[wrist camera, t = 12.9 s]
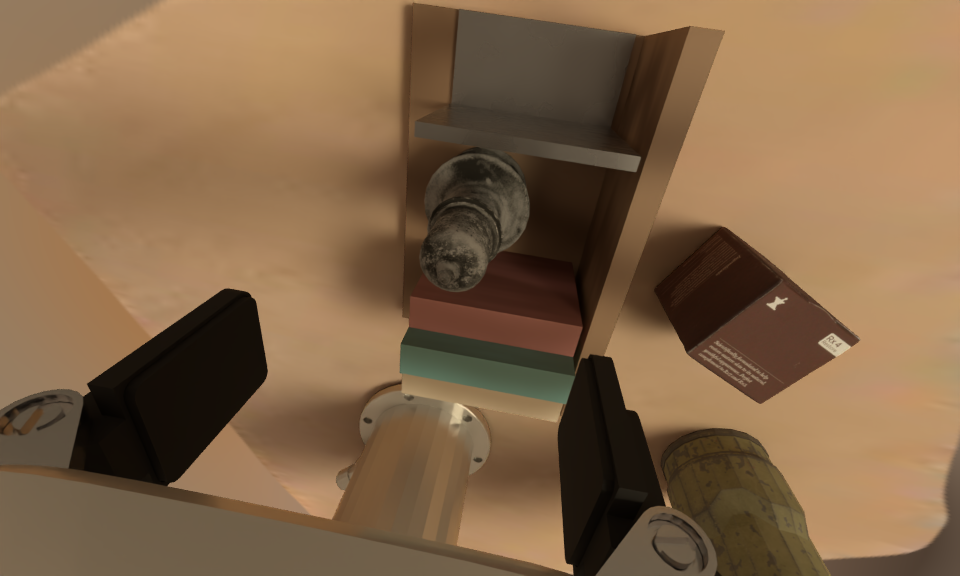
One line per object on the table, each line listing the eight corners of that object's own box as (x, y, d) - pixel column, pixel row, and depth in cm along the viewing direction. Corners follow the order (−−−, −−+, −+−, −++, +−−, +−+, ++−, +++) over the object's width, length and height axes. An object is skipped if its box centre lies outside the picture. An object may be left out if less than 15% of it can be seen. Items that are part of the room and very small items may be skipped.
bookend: (606, 138, 23) (636, 172, 16) (451, 113, 23) (414, 136, 16) (634, 34, 20) (685, 21, 13) (460, 9, 20) (420, -17, 14)
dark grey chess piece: (477, 249, 27) (437, 366, 17) (419, 180, 25) (335, 264, 15) (550, 200, 25) (555, 300, 14) (492, 119, 23) (452, 168, 13)
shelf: (570, 339, 31) (583, 447, 22) (406, 310, 32) (356, 403, 23) (663, 40, 21) (751, 26, 12) (417, 5, 21) (337, -32, 13)
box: (650, 287, 28) (683, 353, 22) (722, 222, 25) (784, 277, 19) (712, 332, 29) (759, 407, 23) (787, 275, 26) (866, 343, 20)
